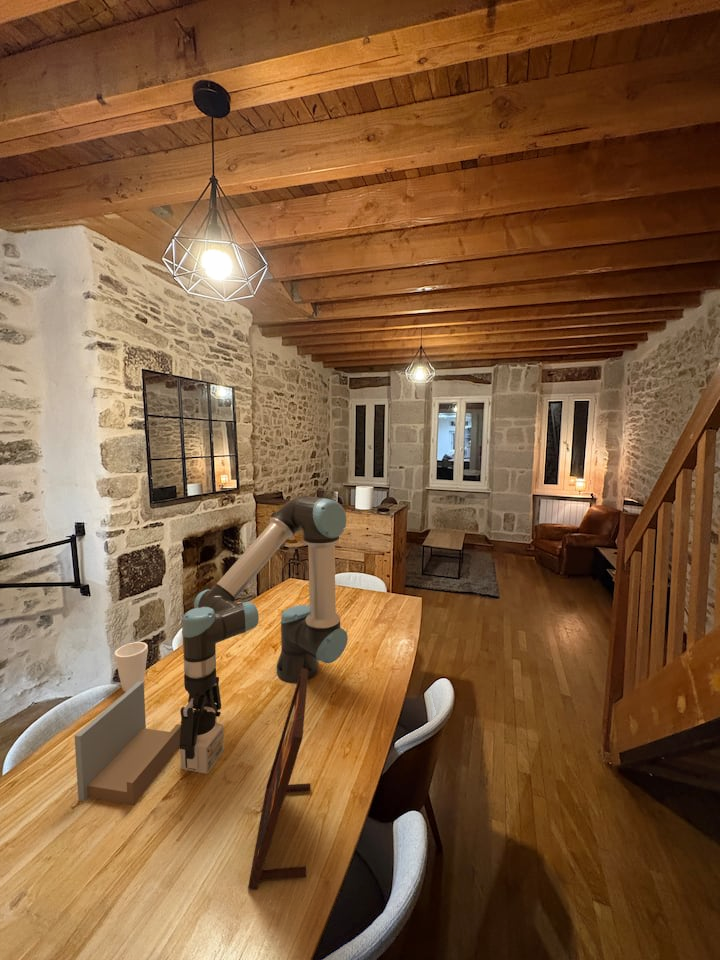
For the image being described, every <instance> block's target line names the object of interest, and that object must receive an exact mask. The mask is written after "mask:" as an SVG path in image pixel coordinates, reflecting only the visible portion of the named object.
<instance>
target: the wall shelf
mask: <svg viewBox="0 0 720 960" xmlns="http://www.w3.org/2000/svg"><path fill="white" fill-rule="evenodd" d="M145 702H146V701H145V681H144V682H142V681H139V682H137V683H136V684H135V685H134V686H133V687H131V688H130V689H129V690H128V691H127V692H124V693H123V694H122V695H121V696H119V697H118V698H117V699H116V700H115V701H114V702H112V703H111V704H110V705H109V706H108V707H107V708H105V709H104V710H103V711H102V712H100V713H99V714H98V715H97V716H96V717H95V718H94V719H92V720H91V721H90V722H89V723H88V724H86V725H85V726H84V727H83V728H82V729H80V730H79V731H78V732H77V733H76V734H75V735H74V749H75V751H74V752H75V765H76V780H77V798H78V799H77V800H78V801H79V802H85V801H87V800H88V798H89V799H92V800H93V799H95V800H100V801H104V802H105V801H106V802H112V803H116V804H117V803H118V804H123V805H130V806H135V804H136V803H137V802H138V800H140V798H141V797H142V795H144V793H145V792H146V791H147V789H148V788H149V787H150V785H151V784H152V783H153V782H154V780H155V779H156V778H157V776H158V775H160V772H161V771H162V770H163V769H164V768H165V767H166V765H167V764H168V763H169V761H170V760H171V759H172V757H174V755H175V754H176V753H177V751H178V750H180V748H179V746H180V731H181V724H178V723H177V724H176V725H175V726H174V727H173V728H172V729H171V730H170V731H167V730H158V729H151V728H147V726H146V725H147V723H146V703H145Z"/></svg>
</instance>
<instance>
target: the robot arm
mask: <svg viewBox="0 0 720 960" xmlns="http://www.w3.org/2000/svg"><path fill="white" fill-rule="evenodd" d="M346 525H347V513H346V512H345V509H344V507H343V506H342V505H341V504H340V503H339V502H337V501H335V500H333V499H330V498H324V497H316V496H315V497H314V496H309V495H300V496H297V497H294V498H292V499H290V500H289V501H287V502H286V503H285V504H283V505H282V506H281V507H280V508H279V509H277V511H276V512H275V513H274V514H273V515H272V516H271V517H270V519H269V524H268V525H267V526H266V527H265V528H264V530H263V531H262V532H261V533H260V534H259V535H258V536H257V538H256V539H255V540H254V541H253V542H252V543H251V545H249V547H248V548H247V549H246V550H245V551H244V552H243V553H242V554H241V556H240V557H239V558H238V559H237V560H236V561H235V562H234V563H233V564H232V566H231V567H230V568H229V569H228V570H227V571H226V572H225V574H223V576H222V577H221V578H220V579H219V580H218V581H217V582H216V584H215V585H214V586H213V587H212V588H211V589H208V588H207V589H204V590H203V591H200V592H199V593H198V594H197V596H196V597H195V599H194V602H193V607H194V608H192V609H190V610H188V611H187V612H185V613H184V615H183V618H182V624H181V625H182V626H181V629H182V630H181V635H182V649H183V672H184V675H183V681H184V682H183V683H184V684H183V686H184V689H185V692H187V693H188V699H187V702H188V703H187V704H186V706H182V707H181V708H180V717H181V719H180V725H181V731H180V746H179V750H180V749H184V750H186V758H187V768H192V769H198V768H199V752H198V742H196V740H197V734H198V728H199V722H200V717H201V714H202V713H203V710H204V707H205V706H207V707H211V708H213V709H214V710H215V721H216V723H218V722H217V721H218V719H217V717H218V718H219V717H221V713H222V712H221V711H219V710H221V709H222V700H221V693H220V685H219V683H220V677H219V676H217V668H216V667H217V659H216V658H217V654H216V653H217V652H216V650H217V649H216V648H217V647H216V646H217V643H220V642H223V641H225V640H228V639H230V638H233V637H235V636H239V635H241V634H245V633H246V632H248V631H250V630H253V629H254V628H256V627H257V626H258V624H259V616H260V615H259V610H258V608H257V606H256V604H255V603H254V602H252V601H241V602H242V603H241V604H236V602H235V601H236V599H238V598H239V596H240V595H241V594H242V593H243V592H244V590H245V589H246V588H247V587H248V585H249V584H250V583H251V582H252V581H253V579H255V577H256V576H257V575H258V574H259V572H260V571H261V570H262V568H263V567H264V566H265V565H266V564H268V562H269V560H270V559H271V558H272V557H273V556H274V554H275V553H276V552H277V551H278V550H279V548H281V546H282V545H283V544H284V543H285V541H286V540H287V539H291V538H293V537H294V535H296V533H297V532H299V531H303V534H302V535H303V537H302V540H303V542H304V543H305V544H306V545H307V546H308V547H307V549H308V551H307V552H308V583H309V585H308V589H309V605H306V604H305V605H303V604H300V605H299V604H298V605H294V606H291V607H288V608H286V609H284V610H283V611H282V612H281V613H282V614H281V617H280V632H281V633H280V635H281V637H280V638H281V639H280V643H281V644H280V645H281V649H280V650H281V651H280V654H279V657H278V660H277V664H276V675H277V677H278V678H279V679H280V680H282V681H284V682H287V683H297V682H298V679H299V676H300V672H301V669H302V668H305V669H308V681H309V680H311V679H312V678H314V677H315V676H316V675H317V674H318V672H319V671H320V670H319V668H320V666H319V661H321V662H322V663H325V664H332V663H334V662H336V661H337V660H338V659H339V658H340V657H341V656H342V655H343V652H344V651H345V649H346V648H347V644H348V637H349V635H348V633H347V631H345V629H344V628H342V627H341V616H340V615H339V614H338V613H337V611H336V560H335V559H336V558H335V555H336V553H335V552H336V551H335V550H336V549H335V544H337V542H339V540H340V536H341V535H342V534H343V532H344V529H345V528H346ZM243 602H244V603H243ZM195 709H199V710H195Z"/></svg>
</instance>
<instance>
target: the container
mask: <svg viewBox="0 0 720 960" xmlns="http://www.w3.org/2000/svg"><path fill="white" fill-rule="evenodd" d="M194 710H199V709H194ZM224 731H225V730H224V724H223V723H218V722H217V723H216V721H215V710H214V709H213V708H211V707H207V706H205V707H204V710H203V713H202V714H201V717H200V722H199V728H198V734H197V740H196V742H198V752H199V768H198V769H192V768H187V758H186V750H184V749H180V748H179V756H180V769H181V770H185V771H191V772H196V773H200V774H204V775H207V774H209V773H210V771H211V770H212V769H213V767H214V765H215V764H216V763H217V761H218V760H219V759H220V757H221V756H222V754H223V753H224V751H225V735H224V734H225V732H224Z"/></svg>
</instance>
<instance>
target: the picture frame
mask: <svg viewBox="0 0 720 960" xmlns="http://www.w3.org/2000/svg"><path fill="white" fill-rule="evenodd" d="M308 681H309V680H308V669H305V668H302V669H301V672H300V676H299V679H298V682H296V686H295V688H294V693H293V695H292V700H291V703H290V705H289V710H288V712H287V717H286V720H285V723H284V726H283V730H282V733H281V737H280V739H279V742H278V746H277V751H276V753H275V756H274V760H273V763H272V766H271V770H270V773H269V776H268V780H267V783H266V786H265V790H264V791H265V792H264V798H263V804H262V808H261V814H260V820H259V825H258V831H257V836H256V842H255V847H254V853H253V857H252V864H251V870H250V874H249V879H248V886H247V890H254V891H257V889H258V886H259V883H260V881H271V880H272V881H273V880H284V879H285V880H286V879H298V878H306V877H307V866H303V865H302V866H292V867H278V868H265V869H264V866H265V863H266V860H267V856H268V855H269V854H268V853H269V850H270V846H271V843H272V840H273V836H274V834H275V830H276V826H277V823H278V820H279V817H280V814H281V810H282V807H283V803H284V801H285V798H286V794H287V793H298V792H299V793H300V792H311V785H312V784H311V783H295V784H292V783H291V784H290V781H291V777H292V775H293V771H294V768H295V765H296V761H297V758H298V755H299V751H300V748H301V745H302V741H303V736H304V725H305V714H306V703H307V702H306V699H307V692H308V691H307V689H308Z"/></svg>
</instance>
